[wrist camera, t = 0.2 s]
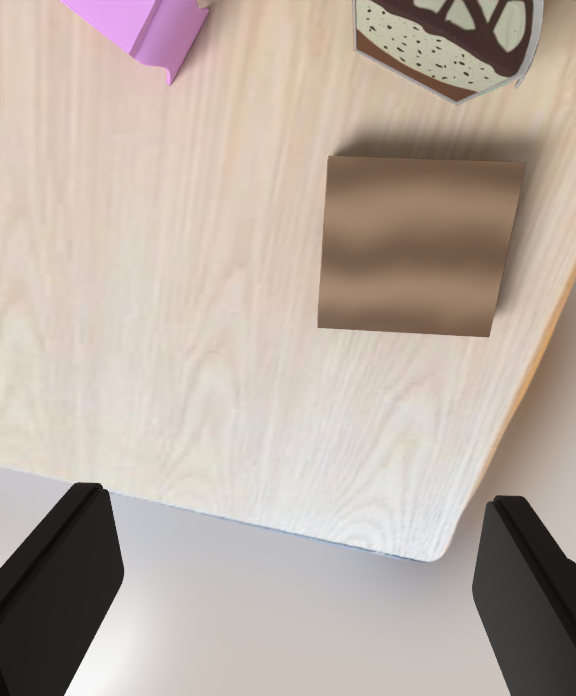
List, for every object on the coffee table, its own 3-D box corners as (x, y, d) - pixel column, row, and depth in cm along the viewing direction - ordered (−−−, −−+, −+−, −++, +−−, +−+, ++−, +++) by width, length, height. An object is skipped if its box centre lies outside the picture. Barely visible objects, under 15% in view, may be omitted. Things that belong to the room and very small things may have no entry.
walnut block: (327, 160, 36) (328, 155, 32) (504, 166, 35) (526, 162, 31) (317, 316, 40) (317, 327, 37) (472, 324, 40) (489, 337, 36)
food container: (518, 30, 31) (603, -43, 22) (472, 114, 33) (532, 79, 24) (375, -49, 30) (400, -162, 21) (336, 42, 32) (344, -24, 23)
